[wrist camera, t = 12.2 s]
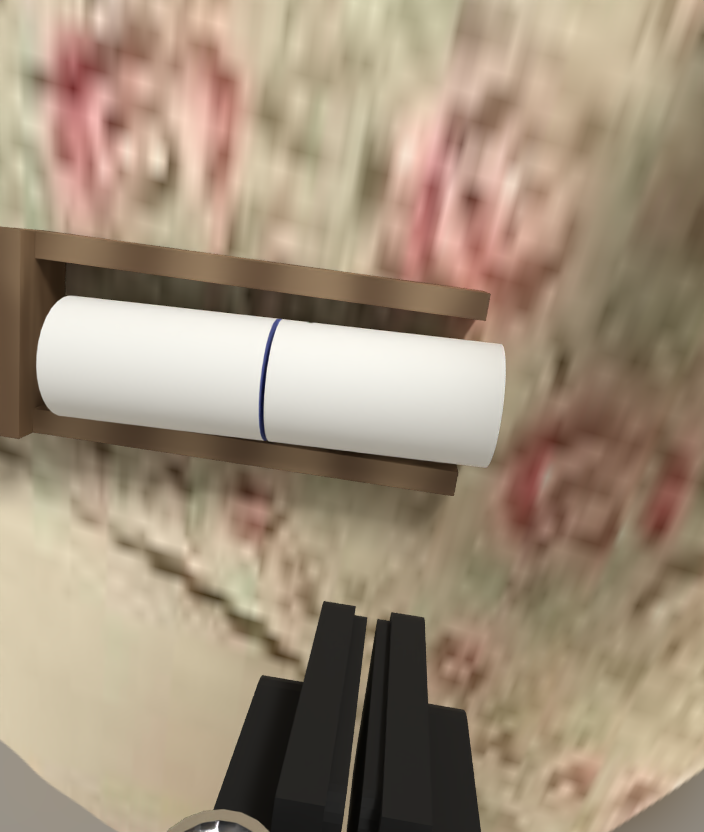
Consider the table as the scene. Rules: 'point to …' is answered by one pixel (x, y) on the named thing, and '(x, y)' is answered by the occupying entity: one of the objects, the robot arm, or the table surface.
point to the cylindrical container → (273, 379)
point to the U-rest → (49, 251)
